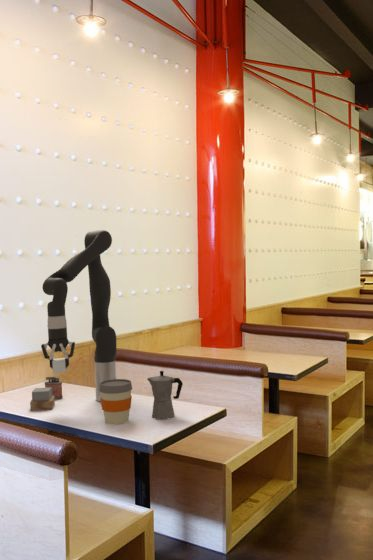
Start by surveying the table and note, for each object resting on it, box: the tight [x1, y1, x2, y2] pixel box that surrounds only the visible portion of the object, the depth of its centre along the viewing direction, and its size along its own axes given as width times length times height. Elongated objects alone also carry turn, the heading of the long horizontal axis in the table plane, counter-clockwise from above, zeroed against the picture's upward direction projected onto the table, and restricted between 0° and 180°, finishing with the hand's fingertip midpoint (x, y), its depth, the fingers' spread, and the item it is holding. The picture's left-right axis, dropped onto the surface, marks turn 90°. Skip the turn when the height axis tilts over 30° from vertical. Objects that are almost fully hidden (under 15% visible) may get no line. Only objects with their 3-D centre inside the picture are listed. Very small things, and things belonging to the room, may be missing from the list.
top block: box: [52, 357, 68, 374], centre depth 230 cm, size 5×5×5 cm
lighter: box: [44, 375, 64, 400], centre depth 255 cm, size 8×3×10 cm, turn 84°
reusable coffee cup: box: [99, 378, 133, 425], centre depth 216 cm, size 13×13×15 cm
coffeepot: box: [146, 370, 184, 420], centre depth 220 cm, size 15×9×18 cm, turn 66°
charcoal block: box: [31, 387, 52, 401], centre depth 240 cm, size 7×7×4 cm
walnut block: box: [29, 396, 56, 412], centre depth 240 cm, size 9×9×4 cm
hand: (59, 367), depth 230 cm, fingers closed on top block, 5 cm apart
